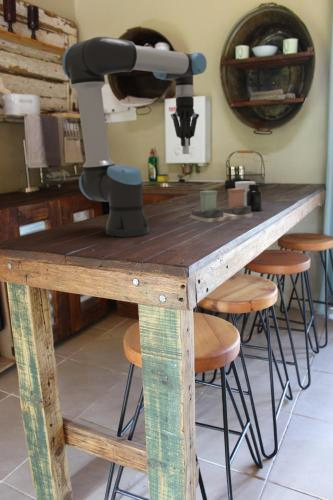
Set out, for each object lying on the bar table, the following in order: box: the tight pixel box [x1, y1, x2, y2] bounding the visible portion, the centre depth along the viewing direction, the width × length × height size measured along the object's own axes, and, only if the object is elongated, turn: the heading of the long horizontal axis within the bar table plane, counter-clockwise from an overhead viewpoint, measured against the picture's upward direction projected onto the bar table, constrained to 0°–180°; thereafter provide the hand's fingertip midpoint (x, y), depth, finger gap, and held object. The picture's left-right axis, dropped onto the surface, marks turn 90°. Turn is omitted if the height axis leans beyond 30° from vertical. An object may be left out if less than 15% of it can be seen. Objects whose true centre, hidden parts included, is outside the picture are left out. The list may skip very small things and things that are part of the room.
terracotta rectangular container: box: [227, 188, 245, 209], centre depth 182 cm, size 6×5×10 cm
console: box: [189, 206, 254, 223], centre depth 181 cm, size 22×14×4 cm, turn 118°
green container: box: [199, 189, 218, 212], centre depth 176 cm, size 6×5×10 cm
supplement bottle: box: [247, 183, 263, 212], centre depth 198 cm, size 7×7×12 cm
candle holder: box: [234, 180, 257, 206], centre depth 211 cm, size 10×10×12 cm
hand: (185, 153), depth 188 cm, fingers closed
